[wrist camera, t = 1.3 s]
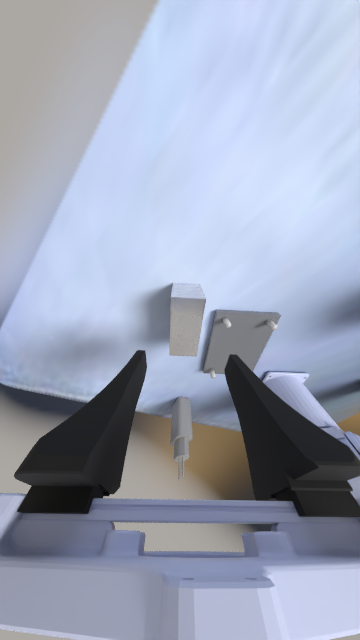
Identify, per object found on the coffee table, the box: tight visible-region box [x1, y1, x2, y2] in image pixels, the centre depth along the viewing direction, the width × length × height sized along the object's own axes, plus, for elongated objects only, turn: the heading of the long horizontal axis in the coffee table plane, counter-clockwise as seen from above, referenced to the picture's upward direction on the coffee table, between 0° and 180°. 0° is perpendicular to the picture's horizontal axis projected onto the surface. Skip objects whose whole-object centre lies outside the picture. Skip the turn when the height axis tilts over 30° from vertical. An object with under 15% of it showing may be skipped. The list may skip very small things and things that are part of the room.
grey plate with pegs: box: [203, 310, 281, 378], centre depth 22 cm, size 13×9×2 cm
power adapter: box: [170, 397, 192, 480], centre depth 28 cm, size 3×5×12 cm, turn 160°
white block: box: [169, 283, 206, 356], centre depth 18 cm, size 8×4×5 cm, turn 177°
